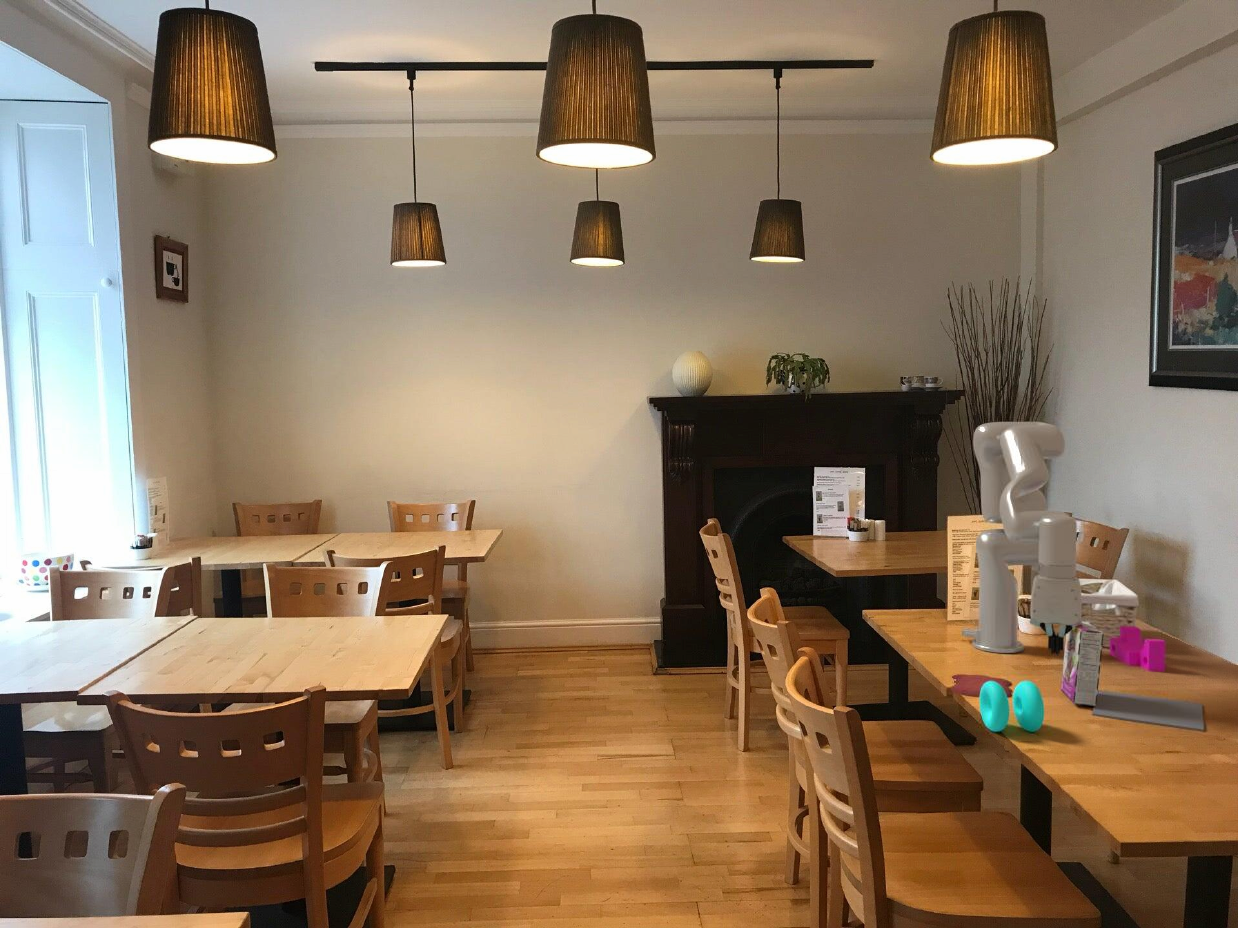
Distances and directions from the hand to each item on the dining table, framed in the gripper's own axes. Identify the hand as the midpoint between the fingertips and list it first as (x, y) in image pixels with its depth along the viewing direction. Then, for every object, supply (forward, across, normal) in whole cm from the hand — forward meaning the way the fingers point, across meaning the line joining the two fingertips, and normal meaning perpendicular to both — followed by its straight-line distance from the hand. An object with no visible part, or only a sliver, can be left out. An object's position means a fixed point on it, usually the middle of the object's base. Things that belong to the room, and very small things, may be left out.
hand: (1055, 652), depth 207 cm
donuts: (+10, -5, -26) cm, 29 cm away
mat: (+10, +18, 0) cm, 21 cm away
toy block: (+11, +14, +40) cm, 43 cm away
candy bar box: (+10, +4, 0) cm, 11 cm away
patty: (+11, -16, -1) cm, 19 cm away
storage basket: (+10, +4, +61) cm, 62 cm away
